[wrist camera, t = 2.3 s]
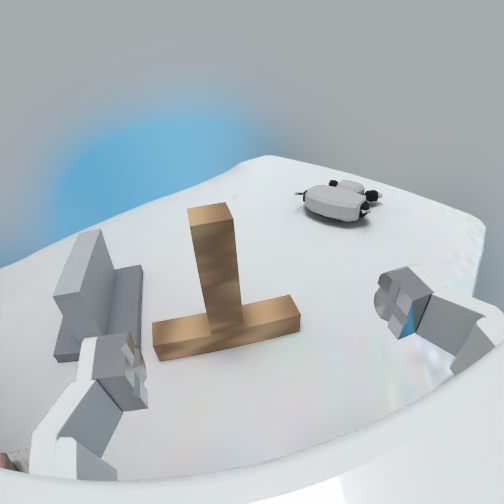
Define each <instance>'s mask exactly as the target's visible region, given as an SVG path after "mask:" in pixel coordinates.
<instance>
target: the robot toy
mask: <svg viewBox="0 0 504 504" xmlns="http://www.w3.org/2000/svg"><path fill="white" fill-rule="evenodd" d="M294 195H303V201H304V202H305V206H306V207H307V208H308V209H309V210H311V211H313V212H315V213H318V214H320V215H323V216H326V217H330V218H335V219H340V220H342V221H344V222H351V221H357V220H358V219H359V218H362V217H364V216H365V215H366V214H367V213H370V211H371V210H370V209H369V203H368V202H367V201H369V202H373V201H377V199H378V198H381V197H382V194H381V193H378V192H377V191H375V190H371V191H366V192H365V194H364V187H363V185H362V184H360V183H357V182H354V181H349V180H343V181H341V182H340V183H339V184H338V182H337V181H335V180H331V181H330V182H329V186H326V185H317V186H314V187H312V188H310V189H308V190H306V191H305V192H303V193H297V192H295V193H294ZM366 200H367V201H366Z"/></svg>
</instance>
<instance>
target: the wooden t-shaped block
mask: <svg viewBox="0 0 504 504" xmlns="http://www.w3.org/2000/svg"><path fill="white" fill-rule="evenodd" d="M187 211H188V217H189V223H190V229H191V235H192V241H193V246H194V252H195V257H196V262H197V268H198V273H199V278H200V283H201V288H202V293H203V298H204V303H205V307H206V312H207V313H202V314H197V315H192V316H187V317H181V318H176V319H171V320H165V321H159V322H154V323H152V335H153V347H154V349H155V352H156V354H157V356H158V358H159V360H160V361H165V360H171V359H177V358H183V357H188V356H194V355H199V354H204V353H209V352H214V351H219V350H224V349H229V348H233V347H238V346H242V345H247V344H251V343H255V342H259V341H264V340H268V339H272V338H276V337H280V336H284V335H287V334H291V333H295V332H299V328H300V316H301V314H300V312H299V311H298V309H297V307H296V305H295V303H294V302H293V300H292V298H291V296H290V295H286V296H282V297H278V298H273V299H269V300H264V301H260V302H255V303H251V304H246V305H242V304H241V295H240V285H239V274H238V264H237V254H236V243H235V232H234V222H233V217H232V215H231V213H230V211H229V209H228V207H227V205H226V202H224V203H218V204H212V205H206V206H200V207H195V208H189V209H187Z"/></svg>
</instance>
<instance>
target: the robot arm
mask: <svg viewBox="0 0 504 504" xmlns="http://www.w3.org/2000/svg"><path fill="white" fill-rule="evenodd" d="M378 284H379V286H380V288H379V289H378V291H377V292H376V293H375V297H374V305H375V309H376V312H377V314H378V315H379V316H380V318H381V319H384V320H386V321H388V328H389V329H390V331H391V332H392V333H393V334H394V336H395V337H396V338H397V340H399V339H401V338H404V337H406V336H408V335H411V334H413V333H416V334H417V335H419V336H421V337H423V338H424V339H426V340H428V341H429V342H431V343H433V344H435V345H436V346H438V347H440V348H442V349H443V350H445V351H447V352H449V353H450V354H452V355H454V356H456V357H455V359H454V360H453V362H452V363H451V365H450V369H451V371H452V372H453V373H454V375H455V377H453V378H452V379H450V380H449V381H447V382H446V383H444V384H443V385H441V386H439V387H438V388H436V389H434V390H433V391H431V392H429V393H428V394H426V395H424V396H423V397H421V398H419V399H417V400H416V401H414V402H412V403H410V404H408V405H407V406H405V407H403V408H401V409H399V410H397V411H395V412H393V413H391V414H389V415H387V416H385V417H383V418H381V419H379V420H377V421H375V422H373V423H371V424H368V425H366V426H364V427H362V428H359V429H357V430H355V431H352V432H350V433H348V434H345V435H343V436H340V437H338V438H335V439H333V440H330V441H327V442H325V443H322V444H319V445H316V446H313V447H310V448H308V449H305V450H302V451H298V452H295V453H292V454H289V455H285V456H282V457H279V458H275V459H271V460H268V461H264V462H260V463H256V464H252V465H247V466H243V467H238V468H234V469H229V470H224V471H218V472H212V473H206V474H200V475H193V476H185V477H177V478H167V479H154V480H135V481H117V471H116V469H115V468H114V467H113V466H112V465H110V464H109V463H107V462H105V461H104V460H103V459H101V457H102V455H103V453H104V451H105V449H106V447H107V445H108V443H109V441H110V439H111V437H112V435H113V433H114V431H115V429H116V427H117V425H118V423H119V421H120V419H121V417H122V415H123V412H125V411H133V410H140V409H147V408H148V398H147V389H146V388H145V386H144V384H143V383H144V381H145V380H146V378H147V377H146V367H145V362H144V359H143V356H142V354H141V352H140V350H139V349H137V348H135V340H134V338H133V336H132V335H131V333H129V332H126V333H119V334H112V335H104V336H99V337H90V338H85V339H84V340H83V341H82V345H81V350H80V356H79V362H78V368H77V375H76V381H75V382H71V383H70V385H69V386H68V387H67V388H66V390H65V391H64V392H63V394H62V395H61V396H60V397H59V399H58V400H57V401H56V403H55V404H54V405H53V407H52V408H51V409H50V411H49V412H48V413H47V415H46V416H45V417H44V419H43V420H42V421H41V423H40V424H39V425H38V427H37V428H36V430H35V431H34V432H33V434H32V439H31V449H30V461H29V473H23V472H18V471H13V470H8V469H4V468H0V504H504V314H503V313H502V312H501V311H500V310H499V309H498V308H497V307H496V306H493V305H490V304H488V303H485V302H483V301H480V300H478V299H475V298H473V297H470V296H467V295H465V294H462V293H460V292H457V291H454V290H452V289H449V288H445V289H444V288H443V287H442V286H441V285H440V284H439V283H438V282H437V281H436V280H435V279H434V278H433V277H431V276H430V275H429V274H428V273H427V272H426V271H425V270H424V269H423V268H422V267H421V266H420V265H418V264H415V263H414V264H411V265H408V266H405V267H402V268H399V269H395V270H392V271H389V272H386V273H383V274H381V276H380V277H379V280H378Z"/></svg>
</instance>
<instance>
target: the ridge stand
mask: <svg viewBox="0 0 504 504" xmlns="http://www.w3.org/2000/svg"><path fill="white" fill-rule="evenodd" d="M142 279H143V270H142V267H141V265H137V266H132V267H126V268H121V269H116V270H114V267H113V264H112V262H111V259H110V256H109V253H108V250H107V247H106V244H105V241H104V238H103V235H102V232H101V229H97V230H93V231H88V232H84V233H80V234H79V235H78V237H77V240H76V242H75V244H74V246H73V248H72V250H71V253H70V255H69V257H68V260H67V262H66V264H65V267H64V269H63V271H62V274H61V276H60V279H59V281H58V284H57V286H56V289H55V291H54V294H53V298H54V300H55V302H56V303H57V305H58V307H59V309H60V311H61V313H62V314H63V320H62V323H61V327H60V331H59V334H58V338H57V342H56V346H55V351H54V357H55V358H56V359H57V361H58V362H66V361H77V360H79V356H80V350H81V345H82V341H83V340H84V339H85V338H90V337H99V336H104V335H112V334H119V333H126V332H129V333H131V335H132V336H133V338H134V340H135V348H137V349H139V350H140V333H141V298H142Z"/></svg>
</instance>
